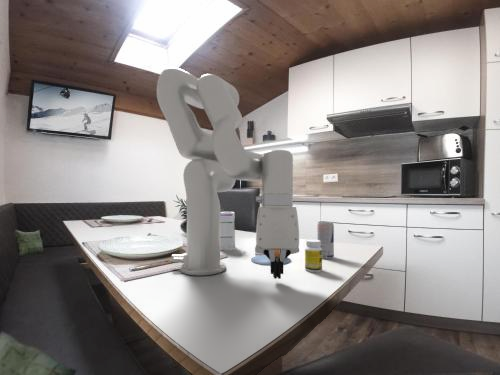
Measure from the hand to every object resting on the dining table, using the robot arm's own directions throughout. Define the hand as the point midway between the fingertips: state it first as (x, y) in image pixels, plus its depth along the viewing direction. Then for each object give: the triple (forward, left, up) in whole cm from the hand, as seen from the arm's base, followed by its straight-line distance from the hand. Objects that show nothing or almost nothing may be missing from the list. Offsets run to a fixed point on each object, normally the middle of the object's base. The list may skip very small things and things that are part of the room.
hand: (276, 276), depth 63 cm
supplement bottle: (+11, +11, -2) cm, 16 cm away
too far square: (0, +34, -2) cm, 34 cm away
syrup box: (-16, +39, -2) cm, 42 cm away
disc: (0, +22, -2) cm, 22 cm away
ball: (+2, +25, +1) cm, 25 cm away
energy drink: (+19, +26, -2) cm, 32 cm away
